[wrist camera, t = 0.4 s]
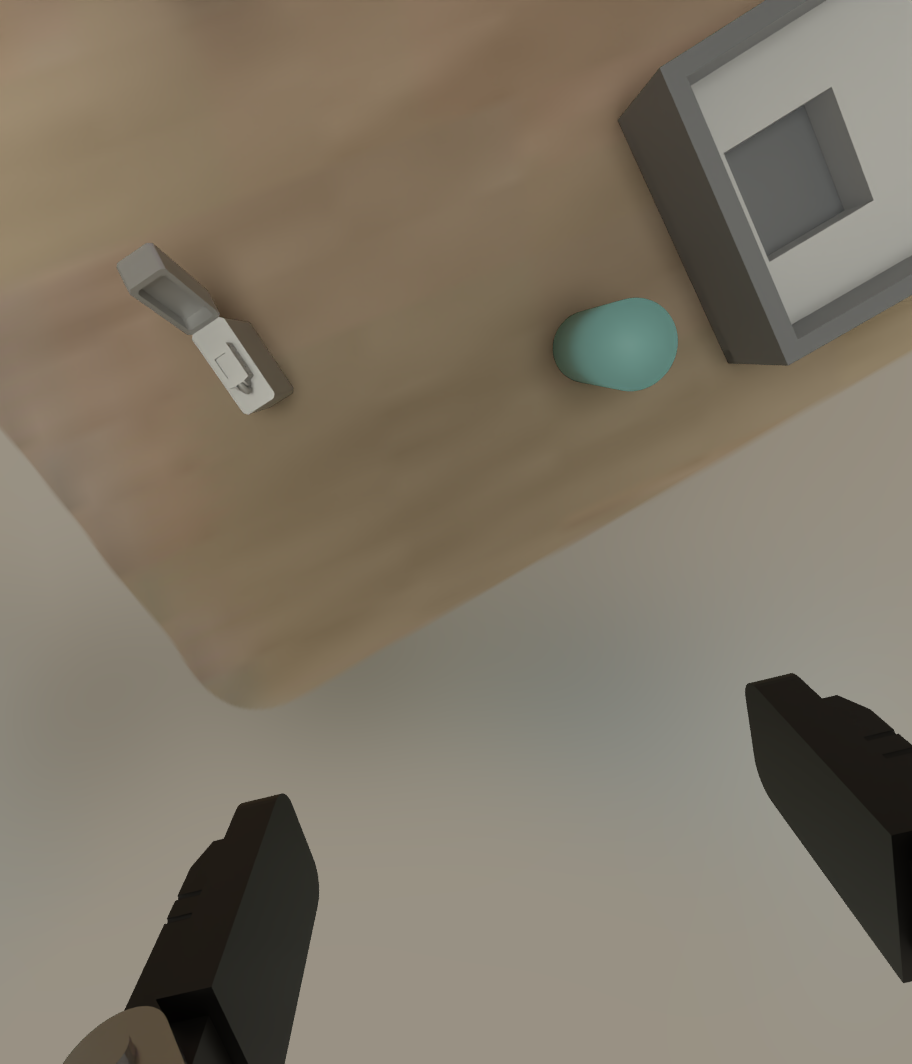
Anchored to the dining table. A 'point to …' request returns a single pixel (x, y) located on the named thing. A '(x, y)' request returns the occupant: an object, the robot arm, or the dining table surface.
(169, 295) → the lighter
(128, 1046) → the robot arm
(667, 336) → the peg
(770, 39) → the bin
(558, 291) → the dining table surface
